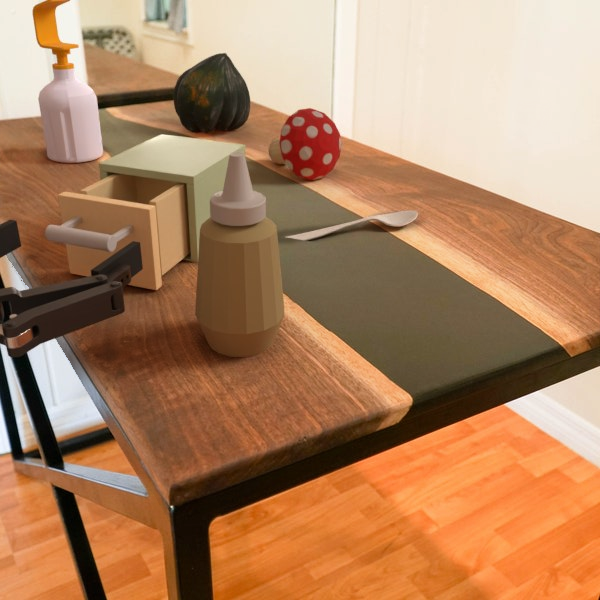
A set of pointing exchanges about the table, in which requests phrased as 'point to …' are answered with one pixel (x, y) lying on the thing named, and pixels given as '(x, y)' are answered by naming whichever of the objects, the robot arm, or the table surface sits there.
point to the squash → (212, 96)
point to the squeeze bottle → (239, 269)
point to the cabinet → (180, 172)
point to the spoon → (388, 219)
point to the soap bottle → (65, 98)
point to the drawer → (125, 225)
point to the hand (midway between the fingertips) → (75, 243)
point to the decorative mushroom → (307, 144)
